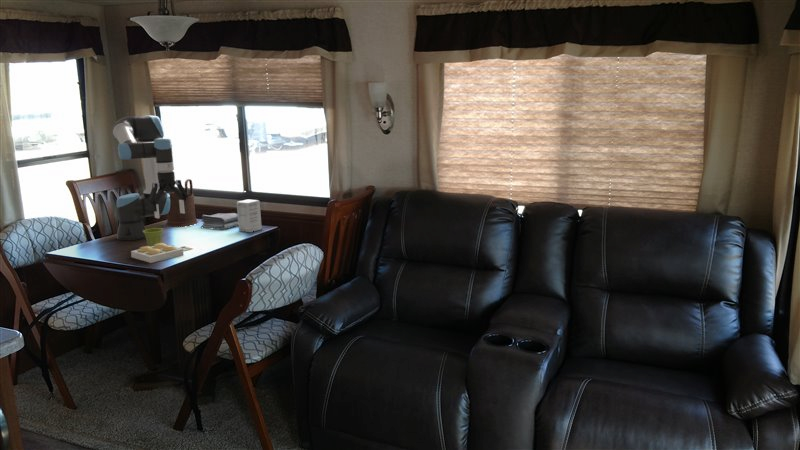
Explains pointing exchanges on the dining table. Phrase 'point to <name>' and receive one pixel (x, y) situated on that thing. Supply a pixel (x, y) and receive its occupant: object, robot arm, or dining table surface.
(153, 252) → the button
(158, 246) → the button
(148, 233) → the plant pot
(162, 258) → the white square food tray
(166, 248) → the button
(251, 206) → the supplement box
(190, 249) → the card
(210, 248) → the dining table surface
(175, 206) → the brown basket
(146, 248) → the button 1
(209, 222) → the towel
